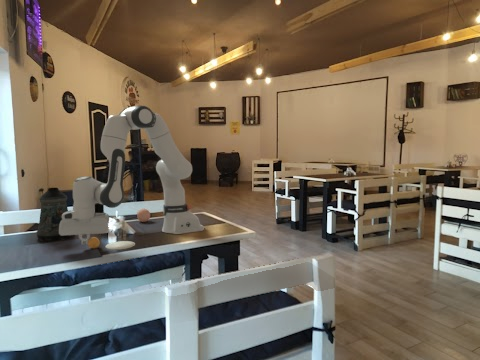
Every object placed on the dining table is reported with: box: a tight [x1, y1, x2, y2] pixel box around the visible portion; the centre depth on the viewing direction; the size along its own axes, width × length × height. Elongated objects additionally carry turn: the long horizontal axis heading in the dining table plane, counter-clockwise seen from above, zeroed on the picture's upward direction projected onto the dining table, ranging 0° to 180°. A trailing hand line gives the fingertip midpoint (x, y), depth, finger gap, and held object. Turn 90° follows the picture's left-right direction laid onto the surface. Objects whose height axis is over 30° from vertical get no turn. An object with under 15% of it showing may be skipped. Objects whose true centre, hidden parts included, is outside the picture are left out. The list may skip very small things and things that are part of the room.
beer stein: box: [36, 187, 74, 243], centre depth 176 cm, size 16×19×25 cm
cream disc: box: [105, 240, 136, 251], centre depth 161 cm, size 13×13×1 cm
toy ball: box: [136, 208, 151, 223], centre depth 210 cm, size 8×8×8 cm
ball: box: [87, 236, 101, 249], centre depth 157 cm, size 5×5×5 cm
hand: (84, 243), depth 156 cm, fingers closed
